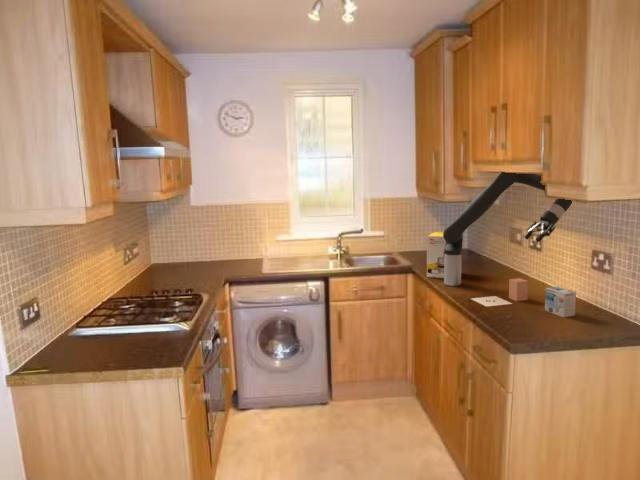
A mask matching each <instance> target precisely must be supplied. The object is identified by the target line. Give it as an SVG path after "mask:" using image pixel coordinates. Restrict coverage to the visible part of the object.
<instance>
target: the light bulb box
mask: <svg viewBox="0 0 640 480" xmlns="http://www.w3.org/2000/svg"><path fill="white" fill-rule="evenodd" d="M544 299H545V301H544V312H548V313H550V314H553V315H556V316H559V317H562V318H567V317H574V316H575V315H576V300H577V291H574V290H571V289H567V288H563V287H560V286H557V285H556V286H551V287H546V288H545V298H544Z"/></svg>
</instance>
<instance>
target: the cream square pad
mask: <svg viewBox="0 0 640 480" xmlns="http://www.w3.org/2000/svg"><path fill="white" fill-rule="evenodd" d="M470 300H472V301H474V302H476V303H478V304H480V305H482V306H485V307H495V306H503V305H513V303H512V302H510V301H508V300H505V299H503V298H501V297H499V296H496V295H493V296H482V297H474V298H473V297H472V298H470Z"/></svg>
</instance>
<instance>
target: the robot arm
mask: <svg viewBox="0 0 640 480" xmlns="http://www.w3.org/2000/svg"><path fill="white" fill-rule="evenodd" d="M541 176H542V175H540V174H536V173H532V174H516V173H505V172H502V171H500V170H499V173H498V175H497V176H496V177H495V178H494V180H493V181H491V184H489V186H487V187H486V188H484V189H483V190H482V191H481V192H480V193H478V194H477V195H476V196H474V198H473V199H472V200H471V201H470V202H469V204H468V205H467V206H466V207H465V208H464V210H462V212H461V213H460V214H459V216H458V217H457V218H456V219H455V220H454V221H453V222H452V223H450V224H449V225H448V226H447V227H446V228H445V229H444V230H443V231H442V232H443V237H444V239H445V241H446V245H445V249H444V278H443V284H444V285H446V286H452V287H455V286H460V285H462V250H463V241H464V238H463V237H464V233H465V231H466V230H467V229H468V228H469V227H470V226H471V225H473V223H475V222H476V221H477V220H479V219H480V218H481V217H483V215H484V214H485V213H486V212H487V211H488V210H489V209H490V208H491V207H492V206H493V205H494V204H495V202H496V201H497V200H498V198H500V196H501V195H502V194H503V193H504V192H505V191H506V190H507V189H509V188H510V187H512V185H514V184H521V185H527V186H529V187H533V188H535V189H537V190H540V191H544V192H546V191H545V185H542V184H541V183H540V181H541ZM572 204H573V203H572V201H571V200H565V199H557V198H556V199H555V201H554V202H552V204H550V205H549V206H548V208H547V209H546V210H545V211H544V212H543V213H542V215H541V216H540V218H539V221H536V220H534V221H533V222H532V223H531V224H530V225H529V226H528V227H527V228H526V230H527V231H528V232H526V234H525V235H524V238H525V240H529V239H530V237H531V236H532V235H533V234H535V233H539V232H540V233H539V234H538V236H536V238H535V241H536V242H538V243H540V242H541V241H542V240H543V239H544V238H545V237H549V236H551V234H552V233H553V231H555V229H556V227H557V226H555V225H556V224H557V223H558V222H559V221H560V220H561V218H562V217H563V216H564V214H565V213H566V212H567V211H568V209H569V208H570V207H571V205H572Z"/></svg>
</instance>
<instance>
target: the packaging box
mask: <svg viewBox="0 0 640 480" xmlns="http://www.w3.org/2000/svg"><path fill="white" fill-rule="evenodd" d="M443 232H444V231H442V232H441V231H440V232H436V231H435V232H434V231H433V232H432V233H429V234H428V235H427V236H426V277H427V278H434V277H435V279H444V249H445V245H446V241H445V239H444V237H443Z"/></svg>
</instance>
